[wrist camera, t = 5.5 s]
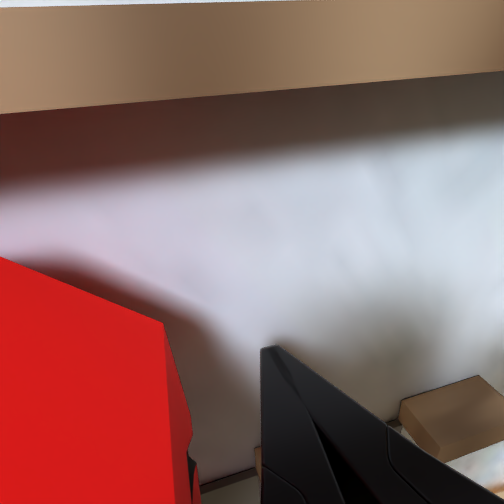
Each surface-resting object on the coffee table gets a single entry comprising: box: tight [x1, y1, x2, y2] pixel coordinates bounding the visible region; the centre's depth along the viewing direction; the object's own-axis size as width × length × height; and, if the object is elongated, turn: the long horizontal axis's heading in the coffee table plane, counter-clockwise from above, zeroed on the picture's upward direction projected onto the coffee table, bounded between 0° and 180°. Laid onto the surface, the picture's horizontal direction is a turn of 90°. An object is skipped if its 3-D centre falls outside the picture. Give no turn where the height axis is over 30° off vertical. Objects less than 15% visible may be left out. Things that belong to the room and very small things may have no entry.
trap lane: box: [0, 0, 504, 504], centre depth 10 cm, size 23×18×3 cm
